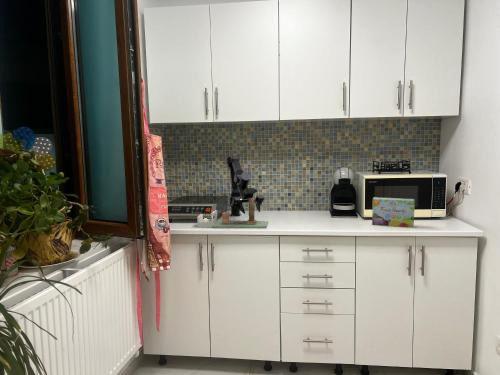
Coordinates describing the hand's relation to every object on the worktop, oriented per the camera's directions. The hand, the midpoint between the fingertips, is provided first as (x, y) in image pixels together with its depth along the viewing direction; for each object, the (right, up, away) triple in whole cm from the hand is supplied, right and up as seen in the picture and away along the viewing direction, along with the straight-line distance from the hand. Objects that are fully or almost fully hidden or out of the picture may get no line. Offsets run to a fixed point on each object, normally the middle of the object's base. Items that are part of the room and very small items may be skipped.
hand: (252, 212), depth 205 cm
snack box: (+77, -7, -5) cm, 78 cm away
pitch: (-11, -7, +3) cm, 14 cm away
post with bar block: (-8, -6, +3) cm, 10 cm away
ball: (-27, -6, +5) cm, 28 cm away
